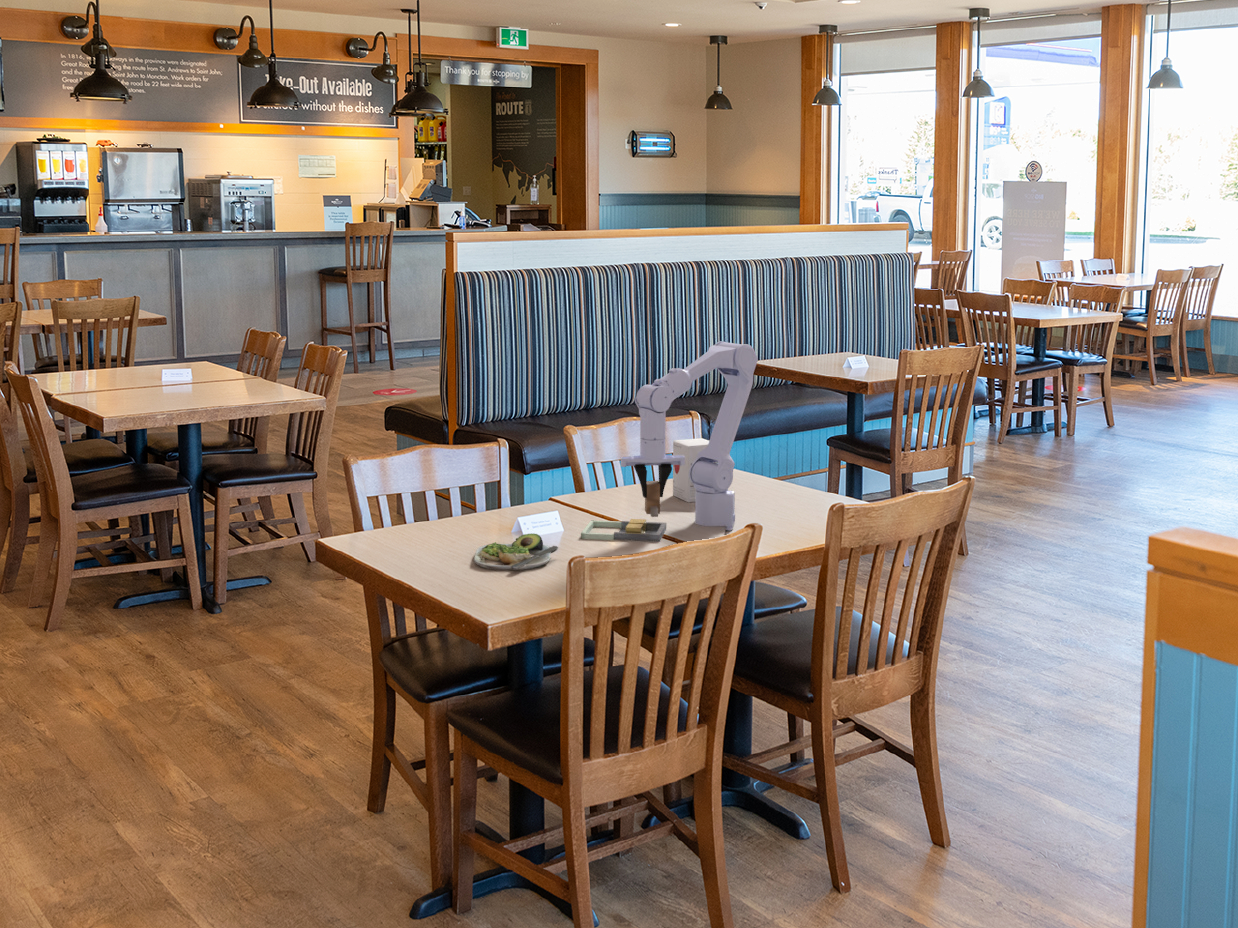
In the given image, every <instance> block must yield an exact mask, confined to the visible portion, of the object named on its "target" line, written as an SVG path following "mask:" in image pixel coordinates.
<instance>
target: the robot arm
mask: <svg viewBox="0 0 1238 928" xmlns="http://www.w3.org/2000/svg"><path fill="white" fill-rule="evenodd" d="M758 361H759V359H758V356H757V354H756V352H755V349H754V348H753V346H752V345H750V344H747V343H745V344H744V343H743V344H742V343H741V344H740V343H736V342H735V343H733V342H727V341H721V340H720V341H718V342H716V343H715V344H714V345H713V344H712V345H710V346H709V347H708V350H707V351H706V352H705V353H704V354H703V355H701V356H700V357H699V358H697V359H695V360H694V361H693V362H691V363H689V364H688V366H686V367H685V368H679V367H676V368H673V367H672V368H670V369H669V370H668V373H667V374H665V375H664V376H662V377H661V378H656V379H655V380H654V381H653V382H652V384H644V385H643V386H641V387H640V388H639V389H638V391H637V393H636V396H635V397H634V402H635V405H636V406H637V408H638V415H639V417H640V421H639V422H640V424H639V425H640V427H639V428H640V429H639V430H640V435H639V438H640V439H639V440H640V443H639V444H640V445H639V446H640V447H639V448H640V449H639V452H640V454H639V455H631V456H620V466H621V468H625V467H633V468H634V470H635V473H636V474H637V477H638V480H639V483H640V487H641V493H642V497H643V498H644V499H645V498H647V486H646V481H648V480H647V478H648V476H647V475H648V470H647V466H658V467H657V468H658V482H659V483H660V498H663V497H664V491H665V487H666V484H667V481H668V479H669V477H670V475H671V473H672V472H673V465H685V457H684V456H683V455H673V454H666V438H667V437H666V434H667V433H666V430H667V428H666V421H667V420H666V413H667V411H668V410H669V409H670V407H671V405H672V403H673V402H674V400H675V399H677V398H679V397H680V396H681V395H683V394H685V393H686V392H688V391H689V390H690V389H691V388H692V383H693V382H694V381H696V380H697V379H700V378H701V377H703V376H705V375H707V374H708V373H710V372H712V371H714V370H715V369H717V371H718V372H719V373H720V374H721V375H722V376H723V377H724V379H725V380H726V383H727V387H726V390H725V393H724V396H723V399H722V402H721V406H720V407H719V411H718V415H717V417H716V419H715V423H714V426H713V428H712V432H711V434H710V438H709V443H708V446H707V447H706V448H705V449H703V450H702V451H700V452H699V453H698V455H697V458H696V460H695V461H694V462H693V463H692V465H691V467H690V469H689V478H690V480H691V482H692V483H693V484H694V488H695V489H696V498H695V502H694V503H695V505H694V506H695V507H694V508H695V511H694V512H695V515H694V520H695V521H694V523H695V524H697V525H699V526H704V527H725V531H732V530H733V529H734V528H733V527H734V525H735V522H736V514H735V511H736V510H735V509H736V508H735V502H736V501H735V500H736V498H735V497H736V496H735V495H736V493H735V491H734V490H729V488H730V487H731V486H732V484H733V479H734V467H735V465H736V464H735V461H734V459H733V458H732V457H731V455H730V453H731V450H732V447H733V444H734V441H735V438H736V435H737V432H738V429H739V426H740V423H741V420H742V417H743V415H744V411H745V408H746V406H747V402H748V400H749V397H750V396H749V395H750V393H751V390H752V387H753V383H754V372H755V369H756V367H757V364H758ZM713 462H718V464H717V463H713Z"/></svg>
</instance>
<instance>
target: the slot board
mask: <svg viewBox="0 0 1238 928" xmlns="http://www.w3.org/2000/svg"><path fill="white" fill-rule="evenodd" d="M620 522H621V528H620V530H619V531H614V532H613V534H614V540H613V541H616V540H617V541H635V542H636V541H637V542H638V541H642V542H661V540H662V538H663V536H664V535H665V532H666V531H667V522H659V521H657V522H654V521H646V531H645V533H631V532H626V526H627V525H628V524H629V522H630V520H622V521H620Z"/></svg>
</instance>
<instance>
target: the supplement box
mask: <svg viewBox="0 0 1238 928" xmlns="http://www.w3.org/2000/svg"><path fill="white" fill-rule="evenodd" d="M709 440H710V439H709ZM709 440H708V439H706V438H703V437H699V438H689V439H676V440H673V441H672V444H673V445H672V455H683V456H684V457H685V465H672V496H673V497H675V498H678V499H680V500H683V501H684V502H686V503H695V498H696V489H695V488H694V484H693V483H692V482H691V480H690V478H689V469H690V467H691V465H692V463H693V462H694V461H695V460H696V458H697V455H698V453H699V452H700V451H702V450H703V449H705V448H706V447H707V446H708V443H709ZM713 463H717V464H718V462H713Z"/></svg>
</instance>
